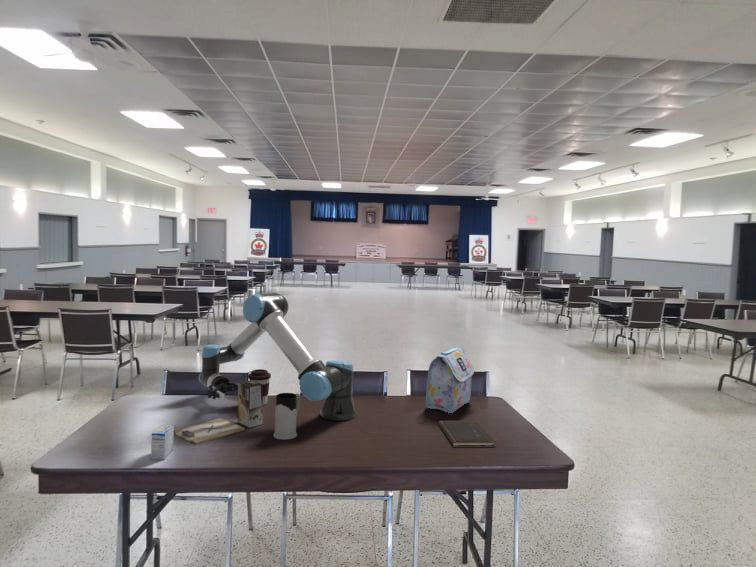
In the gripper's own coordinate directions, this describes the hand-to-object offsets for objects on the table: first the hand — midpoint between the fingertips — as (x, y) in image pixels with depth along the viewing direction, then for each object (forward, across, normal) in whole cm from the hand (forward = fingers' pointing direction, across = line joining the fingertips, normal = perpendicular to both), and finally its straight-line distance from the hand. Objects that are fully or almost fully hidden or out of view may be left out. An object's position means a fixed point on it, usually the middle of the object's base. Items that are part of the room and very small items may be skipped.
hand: (239, 395), depth 195 cm
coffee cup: (-12, -15, -9) cm, 21 cm away
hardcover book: (+69, -61, -10) cm, 93 cm away
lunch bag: (+41, -85, -9) cm, 95 cm away
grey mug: (+27, -7, -9) cm, 30 cm away
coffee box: (+9, 0, -9) cm, 13 cm away
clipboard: (+9, +16, -9) cm, 21 cm away
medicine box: (+21, +36, -9) cm, 43 cm away
